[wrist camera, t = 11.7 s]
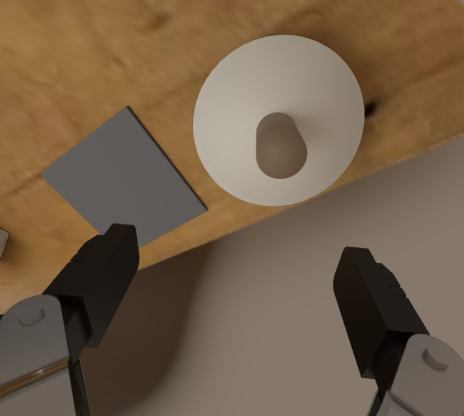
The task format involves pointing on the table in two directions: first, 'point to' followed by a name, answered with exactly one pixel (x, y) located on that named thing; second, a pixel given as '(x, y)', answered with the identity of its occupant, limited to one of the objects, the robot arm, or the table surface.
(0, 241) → the supplement box
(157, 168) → the mat
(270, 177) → the lid
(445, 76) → the table surface
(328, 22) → the table surface
